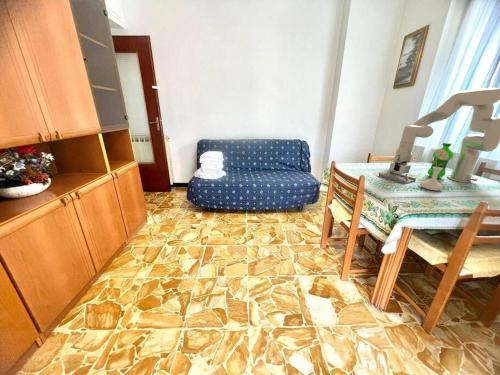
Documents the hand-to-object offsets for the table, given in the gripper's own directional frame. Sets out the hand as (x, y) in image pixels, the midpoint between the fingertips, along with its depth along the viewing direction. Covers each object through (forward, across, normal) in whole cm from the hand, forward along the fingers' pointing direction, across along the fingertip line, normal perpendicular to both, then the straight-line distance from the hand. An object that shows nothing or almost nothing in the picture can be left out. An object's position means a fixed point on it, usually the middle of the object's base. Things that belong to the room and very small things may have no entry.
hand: (398, 169), depth 145 cm
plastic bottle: (+7, -30, +10) cm, 32 cm away
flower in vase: (+7, -1, +20) cm, 21 cm away
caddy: (+7, 0, 0) cm, 7 cm away
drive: (+1, 0, 0) cm, 1 cm away
